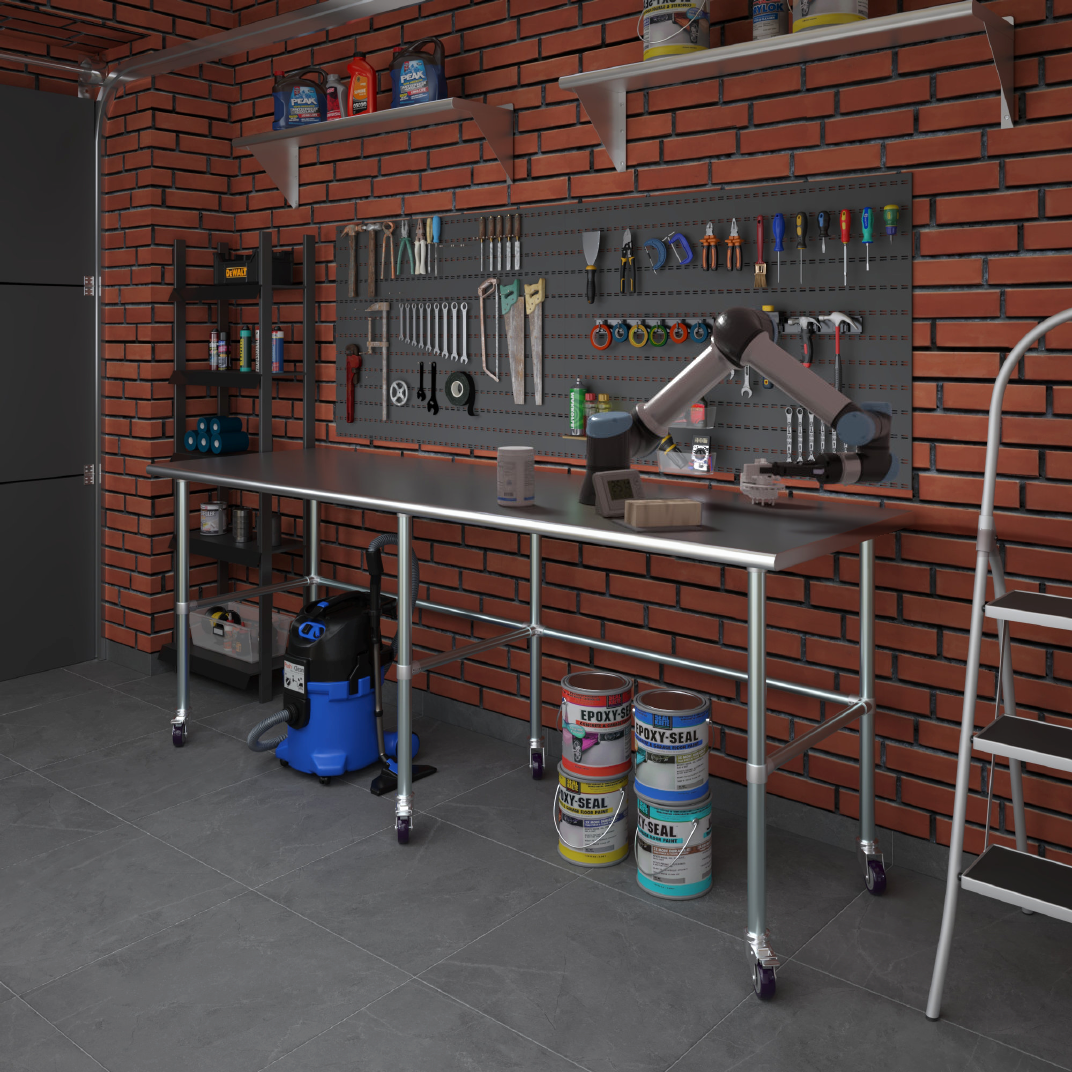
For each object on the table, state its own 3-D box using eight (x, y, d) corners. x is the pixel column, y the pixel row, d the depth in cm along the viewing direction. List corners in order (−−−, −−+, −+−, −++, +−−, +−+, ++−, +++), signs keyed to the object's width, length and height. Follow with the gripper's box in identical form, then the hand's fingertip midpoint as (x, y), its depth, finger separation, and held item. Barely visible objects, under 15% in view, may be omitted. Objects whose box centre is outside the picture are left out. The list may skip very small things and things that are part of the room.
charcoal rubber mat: (611, 521, 241) (611, 519, 241) (673, 519, 246) (673, 517, 246) (636, 532, 226) (636, 530, 226) (701, 530, 231) (702, 528, 230)
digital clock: (602, 519, 245) (603, 474, 243) (581, 514, 253) (581, 470, 251) (656, 514, 254) (657, 471, 252) (633, 509, 261) (635, 467, 260)
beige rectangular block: (689, 520, 242) (624, 522, 238) (689, 498, 241) (625, 500, 237) (701, 524, 235) (635, 527, 231) (702, 503, 234) (636, 504, 230)
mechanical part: (757, 507, 267) (759, 461, 265) (732, 501, 278) (733, 457, 276) (793, 506, 271) (796, 460, 269) (767, 500, 282) (769, 456, 280)
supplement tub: (526, 501, 273) (527, 445, 270) (539, 506, 264) (540, 448, 262) (491, 503, 270) (492, 446, 267) (503, 508, 261) (504, 449, 258)
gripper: (850, 487, 240) (757, 489, 234) (820, 481, 253) (731, 483, 246) (852, 455, 239) (758, 456, 233) (822, 450, 251) (733, 451, 245)
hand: (745, 470), depth 240 cm, fingers closed
